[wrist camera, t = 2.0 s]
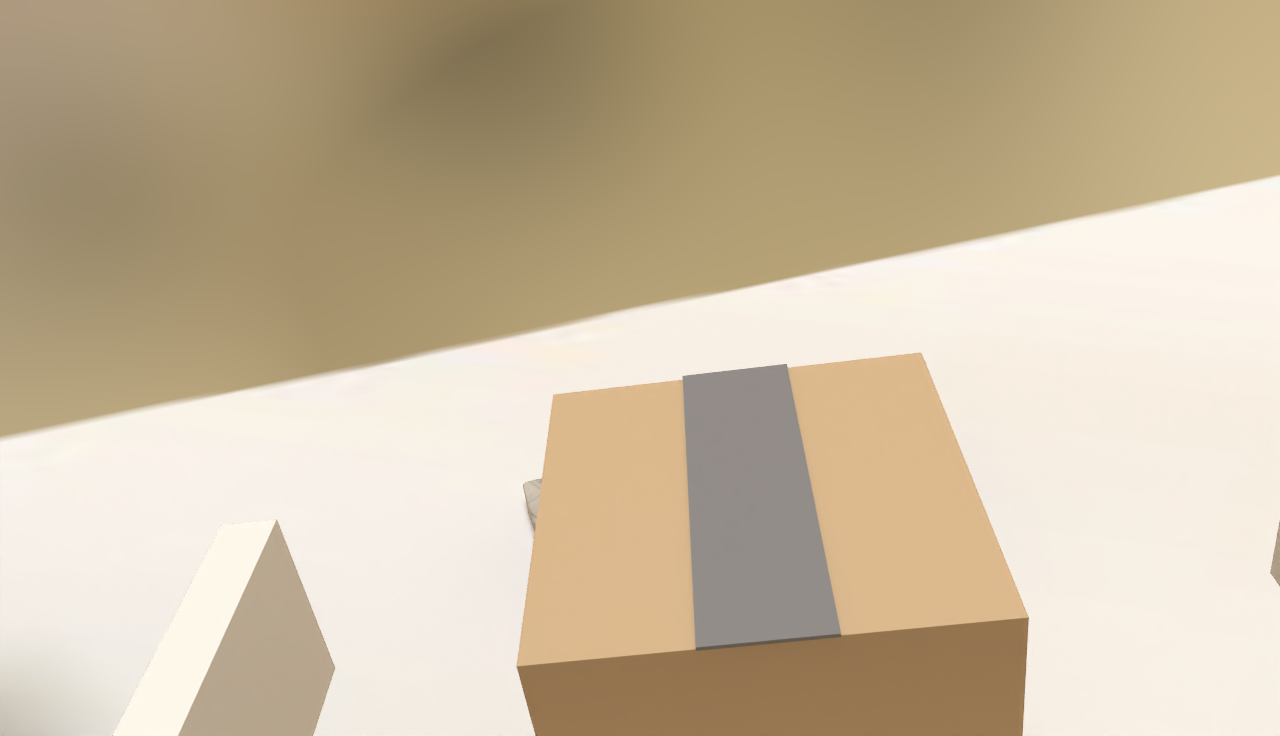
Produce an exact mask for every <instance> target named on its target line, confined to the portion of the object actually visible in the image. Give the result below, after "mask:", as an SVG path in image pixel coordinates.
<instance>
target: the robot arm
mask: <svg viewBox="0 0 1280 736" xmlns="http://www.w3.org/2000/svg"><path fill="white" fill-rule="evenodd" d="M1270 573H1271V574H1272V576H1273V577H1274V579H1275V580H1276V581H1277V583H1278V584H1279V586H1280V522H1279V528H1278V533H1277V539H1276V544H1275V550H1274V555H1273V561H1272V566H1271V572H1270ZM334 670H335V666H334V664H333V661H332V659H331V656H330V653H329V651H328V648H327V646H326V643H325V641H324V638H323V636H322V633H321V631H320V628H319V626H318V623H317V620H316V618H315V615H314V613H313V610H312V608H311V605H310V603H309V600H308V598H307V595H306V592H305V590H304V587H303V585H302V582H301V580H300V577H299V575H298V572H297V570H296V567H295V565H294V562H293V559H292V557H291V554H290V552H289V549H288V547H287V544H286V542H285V539H284V537H283V534H282V532H281V529H280V526H279V524H278V521H277V519H274V520H265V521H257V522H248V523H239V524H230V525H221V527H220V529H219V531H218V533H217V535H216V537H215V539H214V541H213V543H212V545H211V546H210V548H209V550H208V552H207V554H206V556H205V558H204V560H203V562H202V564H201V566H200V568H199V570H198V572H197V573H196V575H195V577H194V579H193V581H192V583H191V585H190V587H189V589H188V591H187V593H186V595H185V597H184V598H183V600H182V602H181V604H180V606H179V608H178V610H177V612H176V614H175V616H174V618H173V620H172V622H171V624H170V625H169V627H168V629H167V631H166V633H165V635H164V637H163V639H162V641H161V643H160V645H159V647H158V649H157V650H156V652H155V654H154V656H153V658H152V660H151V662H150V664H149V666H148V668H147V670H146V672H145V674H144V676H143V677H142V679H141V681H140V683H139V685H138V687H137V689H136V691H135V693H134V695H133V697H132V699H131V701H130V703H129V704H128V706H127V708H126V710H125V712H124V714H123V716H122V718H121V720H120V722H119V724H118V726H117V728H116V729H115V731H114V733H113V735H112V736H313V734H314V731H315V728H316V725H317V722H318V719H319V716H320V713H321V710H322V706H323V703H324V700H325V697H326V694H327V691H328V688H329V685H330V682H331V679H332V676H333V673H334Z"/></svg>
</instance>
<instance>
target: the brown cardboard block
mask: <svg viewBox="0 0 1280 736" xmlns="http://www.w3.org/2000/svg"><path fill="white" fill-rule="evenodd" d="M1028 620H1029V617H1028V615H1027V612H1026V610H1025V607H1024V605H1023V602H1022V600H1021V597H1020V595H1019V592H1018V590H1017V588H1016V585H1015V583H1014V580H1013V578H1012V575H1011V573H1010V570H1009V568H1008V565H1007V563H1006V560H1005V558H1004V555H1003V553H1002V551H1001V548H1000V546H999V543H998V541H997V538H996V536H995V533H994V531H993V528H992V526H991V523H990V521H989V519H988V516H987V514H986V511H985V509H984V506H983V504H982V501H981V499H980V496H979V494H978V491H977V489H976V486H975V484H974V482H973V479H972V477H971V474H970V472H969V469H968V467H967V464H966V462H965V459H964V457H963V454H962V452H961V449H960V447H959V445H958V442H957V440H956V437H955V435H954V432H953V430H952V427H951V425H950V422H949V420H948V417H947V415H946V412H945V410H944V408H943V405H942V403H941V400H940V398H939V395H938V393H937V390H936V388H935V385H934V383H933V380H932V378H931V375H930V373H929V371H928V368H927V366H926V363H925V361H924V358H923V356H922V353H913V354H905V355H896V356H887V357H879V358H870V359H861V360H852V361H844V362H835V363H826V364H817V365H809V366H800V367H791V368H787V364H783V365H774V366H766V367H757V368H748V369H740V370H731V371H722V372H713V373H705V374H696V375H687V376H683V380H678V381H669V382H660V383H651V384H643V385H634V386H625V387H616V388H608V389H599V390H590V391H581V392H573V393H564V394H555V395H553V402H552V409H551V416H550V424H549V431H548V439H547V446H546V453H545V461H544V468H543V476H542V483H541V490H540V498H539V505H538V513H537V520H536V527H535V535H534V542H533V550H532V557H531V564H530V572H529V579H528V587H527V594H526V601H525V609H524V616H523V624H522V631H521V638H520V646H519V653H518V661H517V669H518V673H519V676H520V680H521V684H522V687H523V691H524V695H525V698H526V702H527V706H528V709H529V713H530V717H531V720H532V724H533V728H534V731H535V735H536V736H1022V733H1023V714H1024V695H1025V676H1026V658H1027V639H1028Z"/></svg>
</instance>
